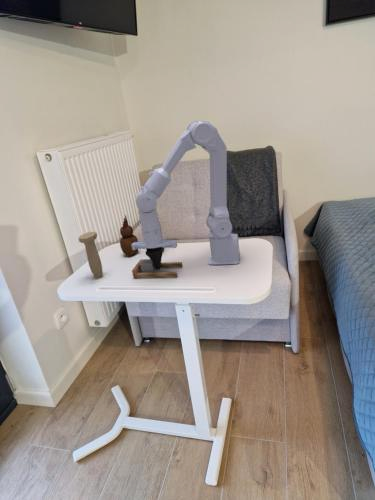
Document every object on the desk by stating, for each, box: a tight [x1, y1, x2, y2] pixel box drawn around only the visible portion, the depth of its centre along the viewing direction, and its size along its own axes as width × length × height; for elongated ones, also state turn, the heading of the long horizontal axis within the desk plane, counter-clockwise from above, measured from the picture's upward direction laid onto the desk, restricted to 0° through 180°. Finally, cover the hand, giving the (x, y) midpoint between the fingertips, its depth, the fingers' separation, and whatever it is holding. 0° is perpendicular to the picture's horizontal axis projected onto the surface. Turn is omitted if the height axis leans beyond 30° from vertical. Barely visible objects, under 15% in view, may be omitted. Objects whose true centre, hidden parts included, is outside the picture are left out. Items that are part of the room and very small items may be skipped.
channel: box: [131, 259, 183, 280], centre depth 107 cm, size 14×8×3 cm, turn 78°
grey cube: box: [140, 258, 158, 273], centre depth 107 cm, size 4×4×4 cm
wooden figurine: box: [119, 214, 139, 257], centre depth 122 cm, size 7×6×15 cm
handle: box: [78, 231, 104, 279], centre depth 108 cm, size 5×6×15 cm
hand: (158, 268), depth 106 cm, fingers closed
